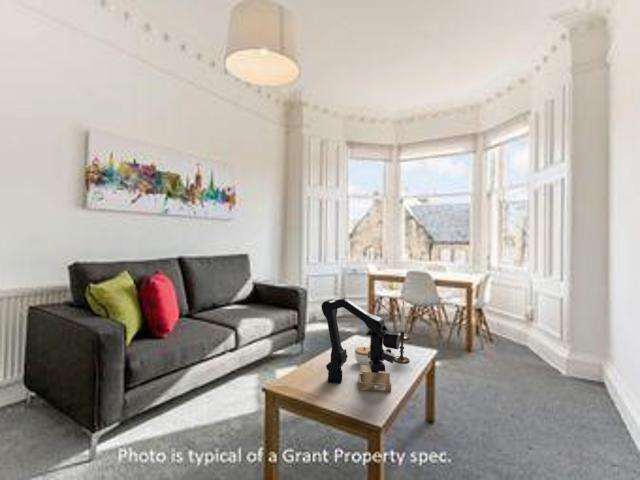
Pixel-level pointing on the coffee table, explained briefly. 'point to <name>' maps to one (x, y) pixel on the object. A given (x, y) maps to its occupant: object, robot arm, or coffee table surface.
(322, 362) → the coffee table surface
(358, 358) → the lidded jar
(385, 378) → the near flap
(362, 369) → the far flap
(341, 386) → the coffee table surface
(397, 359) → the candlestick
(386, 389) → the carton
